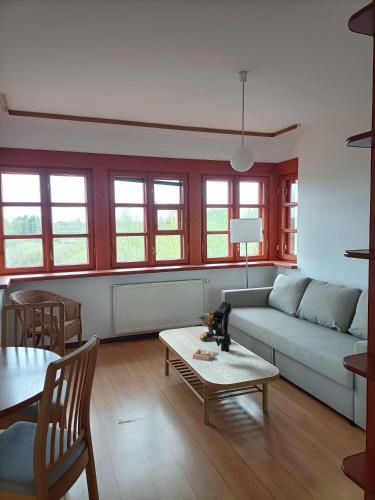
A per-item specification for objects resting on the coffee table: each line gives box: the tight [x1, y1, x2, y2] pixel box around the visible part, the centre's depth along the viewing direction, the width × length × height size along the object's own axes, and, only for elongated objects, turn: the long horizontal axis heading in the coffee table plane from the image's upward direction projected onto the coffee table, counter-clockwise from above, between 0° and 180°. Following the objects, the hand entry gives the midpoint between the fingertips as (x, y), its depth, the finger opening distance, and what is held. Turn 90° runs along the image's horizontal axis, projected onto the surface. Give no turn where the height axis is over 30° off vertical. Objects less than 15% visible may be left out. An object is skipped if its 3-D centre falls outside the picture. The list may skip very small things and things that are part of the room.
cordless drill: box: [195, 312, 217, 342], centre depth 339 cm, size 9×20×25 cm, turn 111°
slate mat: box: [193, 349, 220, 362], centre depth 300 cm, size 17×19×1 cm
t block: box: [200, 349, 213, 359], centre depth 295 cm, size 9×8×4 cm
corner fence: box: [192, 347, 209, 361], centre depth 299 cm, size 14×15×3 cm
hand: (218, 346), depth 291 cm, fingers closed
